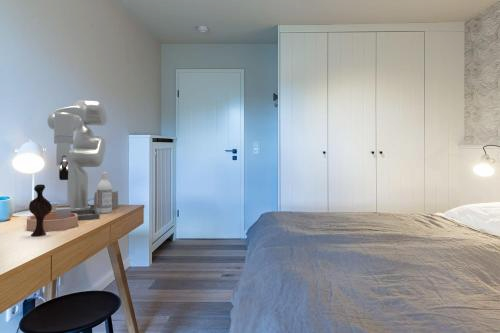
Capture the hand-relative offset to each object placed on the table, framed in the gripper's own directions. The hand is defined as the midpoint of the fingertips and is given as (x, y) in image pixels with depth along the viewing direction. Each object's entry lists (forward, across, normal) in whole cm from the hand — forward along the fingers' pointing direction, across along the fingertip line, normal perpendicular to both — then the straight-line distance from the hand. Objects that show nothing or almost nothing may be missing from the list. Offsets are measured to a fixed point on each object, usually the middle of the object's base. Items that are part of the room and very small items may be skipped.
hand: (63, 179), depth 144 cm
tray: (+18, 0, +4) cm, 18 cm away
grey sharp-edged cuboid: (+17, +15, 0) cm, 22 cm away
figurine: (+18, +29, -8) cm, 35 cm away
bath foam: (+18, -9, +18) cm, 27 cm away
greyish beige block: (+18, 0, 0) cm, 18 cm away
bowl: (+18, +16, -4) cm, 24 cm away
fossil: (+18, -17, +20) cm, 32 cm away
